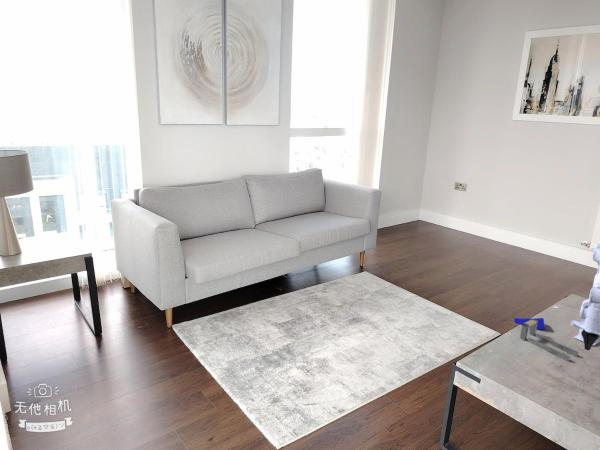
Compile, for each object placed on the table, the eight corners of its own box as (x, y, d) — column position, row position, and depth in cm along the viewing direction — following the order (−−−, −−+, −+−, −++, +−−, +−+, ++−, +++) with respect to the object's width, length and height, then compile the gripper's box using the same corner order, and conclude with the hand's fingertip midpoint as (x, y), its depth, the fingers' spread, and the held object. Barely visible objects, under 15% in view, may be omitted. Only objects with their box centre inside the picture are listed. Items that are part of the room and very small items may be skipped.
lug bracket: (530, 334, 190) (533, 318, 188) (534, 336, 188) (538, 320, 186) (519, 339, 185) (522, 323, 183) (524, 341, 183) (527, 325, 181)
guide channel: (536, 337, 187) (537, 333, 187) (577, 356, 174) (578, 351, 173) (527, 342, 183) (527, 338, 183) (568, 361, 169) (569, 357, 169)
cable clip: (544, 328, 191) (544, 327, 196) (543, 318, 192) (543, 317, 197) (515, 328, 197) (515, 327, 202) (514, 318, 198) (514, 317, 203)
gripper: (569, 312, 167) (563, 343, 170) (611, 328, 155) (603, 360, 159) (578, 308, 171) (571, 338, 174) (619, 323, 159) (611, 355, 162)
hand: (587, 349), depth 167 cm, fingers closed
